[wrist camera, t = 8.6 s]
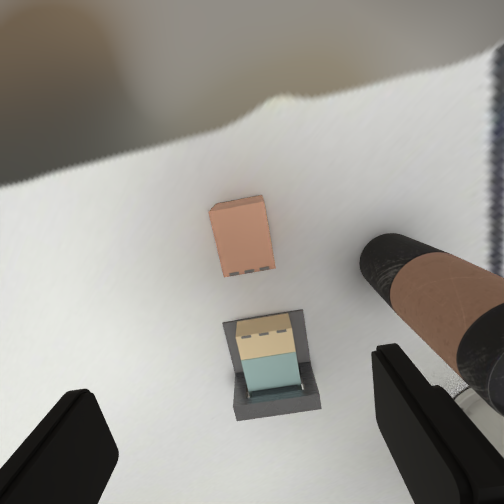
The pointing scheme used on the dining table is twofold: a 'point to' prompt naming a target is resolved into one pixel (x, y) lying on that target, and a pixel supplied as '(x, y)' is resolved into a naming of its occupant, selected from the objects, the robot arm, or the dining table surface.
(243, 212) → the stub
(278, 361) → the tan and teal block
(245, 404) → the grey rectangular collar
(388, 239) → the travel mug
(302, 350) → the mat
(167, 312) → the dining table surface
